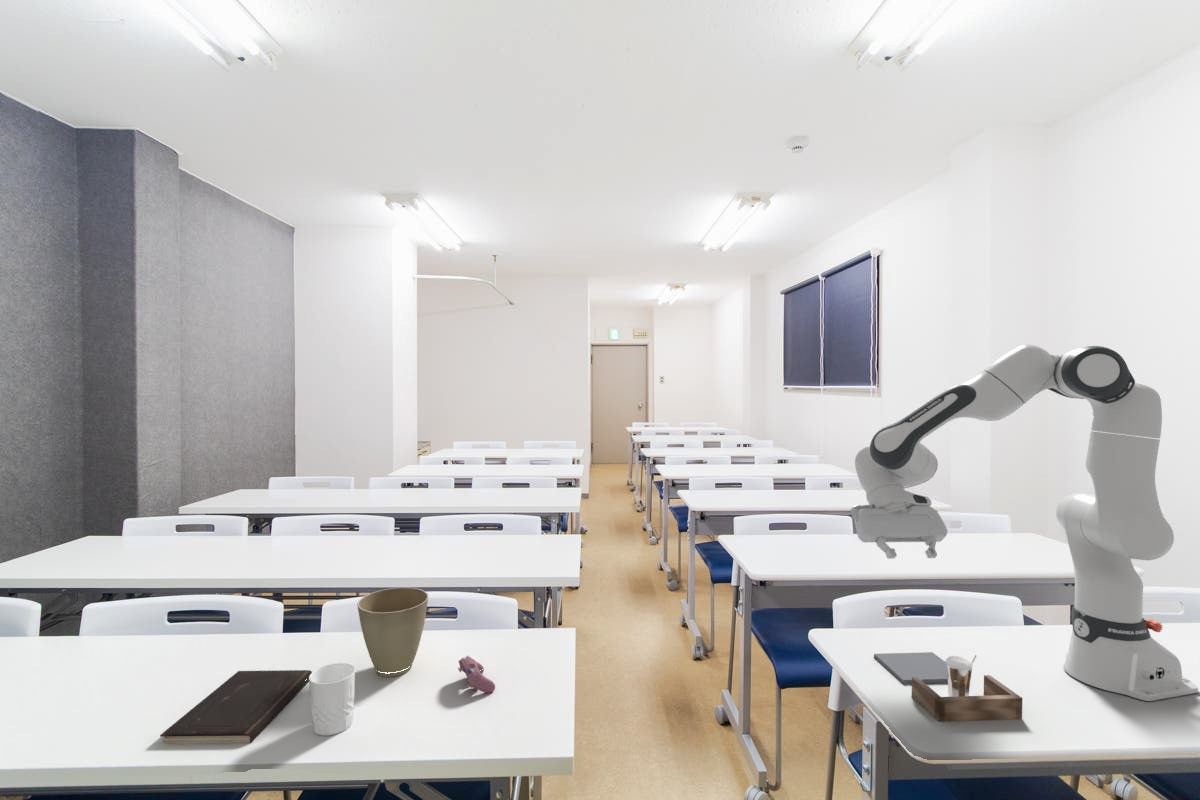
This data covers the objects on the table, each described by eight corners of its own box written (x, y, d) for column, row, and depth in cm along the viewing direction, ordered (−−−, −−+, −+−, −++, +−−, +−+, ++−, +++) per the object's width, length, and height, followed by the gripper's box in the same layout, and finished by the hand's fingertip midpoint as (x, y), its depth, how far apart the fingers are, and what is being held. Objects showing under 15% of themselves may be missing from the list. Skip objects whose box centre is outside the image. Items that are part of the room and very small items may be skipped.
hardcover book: (160, 747, 104) (160, 734, 103) (238, 681, 127) (238, 670, 126) (251, 746, 104) (250, 733, 104) (312, 680, 127) (312, 669, 127)
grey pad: (932, 655, 136) (932, 652, 136) (967, 681, 124) (967, 678, 124) (874, 657, 136) (874, 653, 136) (903, 683, 124) (903, 680, 124)
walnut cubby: (989, 694, 120) (989, 675, 119) (1022, 718, 111) (1022, 698, 111) (911, 696, 119) (911, 677, 119) (938, 721, 110) (938, 700, 110)
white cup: (343, 708, 115) (342, 658, 114) (364, 723, 110) (363, 671, 109) (302, 727, 109) (301, 674, 108) (322, 743, 104) (321, 688, 103)
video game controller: (466, 682, 128) (451, 657, 126) (484, 669, 129) (470, 644, 128) (478, 704, 119) (463, 678, 117) (498, 690, 121) (483, 663, 119)
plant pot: (342, 679, 126) (341, 606, 125) (390, 649, 140) (389, 584, 139) (399, 692, 121) (398, 616, 120) (442, 660, 135) (441, 591, 134)
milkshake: (980, 711, 113) (981, 660, 113) (949, 708, 114) (950, 658, 114) (970, 699, 118) (971, 650, 117) (941, 696, 119) (942, 647, 119)
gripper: (852, 498, 139) (873, 550, 129) (936, 497, 140) (962, 550, 130) (843, 512, 143) (862, 564, 134) (924, 512, 144) (949, 563, 135)
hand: (912, 557), depth 132 cm, fingers open, 8 cm apart
